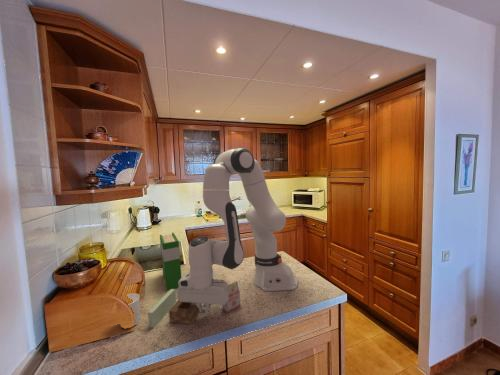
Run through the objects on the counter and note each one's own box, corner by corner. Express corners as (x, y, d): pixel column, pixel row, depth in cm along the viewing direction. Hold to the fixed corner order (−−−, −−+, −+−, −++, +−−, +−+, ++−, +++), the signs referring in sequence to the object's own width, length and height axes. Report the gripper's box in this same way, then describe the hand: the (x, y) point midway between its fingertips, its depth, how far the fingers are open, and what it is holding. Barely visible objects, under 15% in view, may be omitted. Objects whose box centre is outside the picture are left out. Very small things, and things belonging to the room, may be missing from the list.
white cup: (127, 316, 89) (125, 293, 88) (145, 316, 89) (143, 293, 88) (113, 330, 82) (111, 305, 81) (133, 331, 81) (131, 305, 80)
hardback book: (163, 276, 123) (159, 234, 121) (176, 272, 126) (173, 232, 124) (166, 291, 107) (162, 243, 105) (182, 286, 110) (178, 240, 108)
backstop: (176, 301, 98) (175, 289, 97) (153, 327, 82) (152, 312, 81) (172, 301, 98) (170, 288, 97) (149, 327, 82) (147, 312, 82)
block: (200, 308, 92) (200, 298, 91) (191, 324, 83) (190, 312, 82) (181, 307, 93) (180, 297, 93) (169, 322, 84) (168, 311, 84)
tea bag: (222, 307, 92) (221, 285, 91) (235, 301, 96) (234, 279, 95) (226, 311, 89) (225, 288, 88) (240, 305, 93) (239, 282, 92)
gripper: (229, 276, 86) (231, 309, 87) (182, 273, 90) (184, 305, 91) (224, 284, 80) (226, 319, 81) (174, 281, 84) (176, 315, 85)
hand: (204, 312), depth 86 cm, fingers closed
